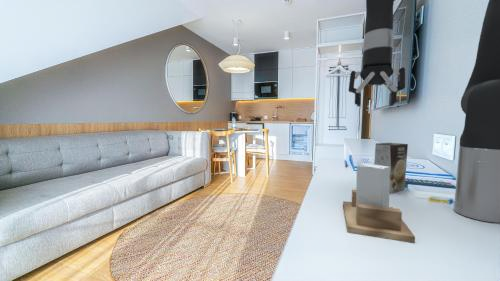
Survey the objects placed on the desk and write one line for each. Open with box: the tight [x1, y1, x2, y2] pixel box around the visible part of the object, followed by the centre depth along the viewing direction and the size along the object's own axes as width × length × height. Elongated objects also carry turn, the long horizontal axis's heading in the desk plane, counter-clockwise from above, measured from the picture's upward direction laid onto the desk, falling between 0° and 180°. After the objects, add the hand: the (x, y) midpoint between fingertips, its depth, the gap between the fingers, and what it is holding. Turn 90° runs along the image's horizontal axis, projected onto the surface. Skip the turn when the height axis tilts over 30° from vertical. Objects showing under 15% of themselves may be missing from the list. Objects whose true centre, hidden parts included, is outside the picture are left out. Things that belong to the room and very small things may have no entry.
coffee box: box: [373, 142, 409, 194], centre depth 76 cm, size 9×6×16 cm
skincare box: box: [355, 162, 390, 213], centre depth 52 cm, size 6×4×12 cm
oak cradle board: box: [342, 189, 416, 244], centre depth 52 cm, size 12×16×5 cm
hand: (374, 106), depth 65 cm, fingers open, 8 cm apart
